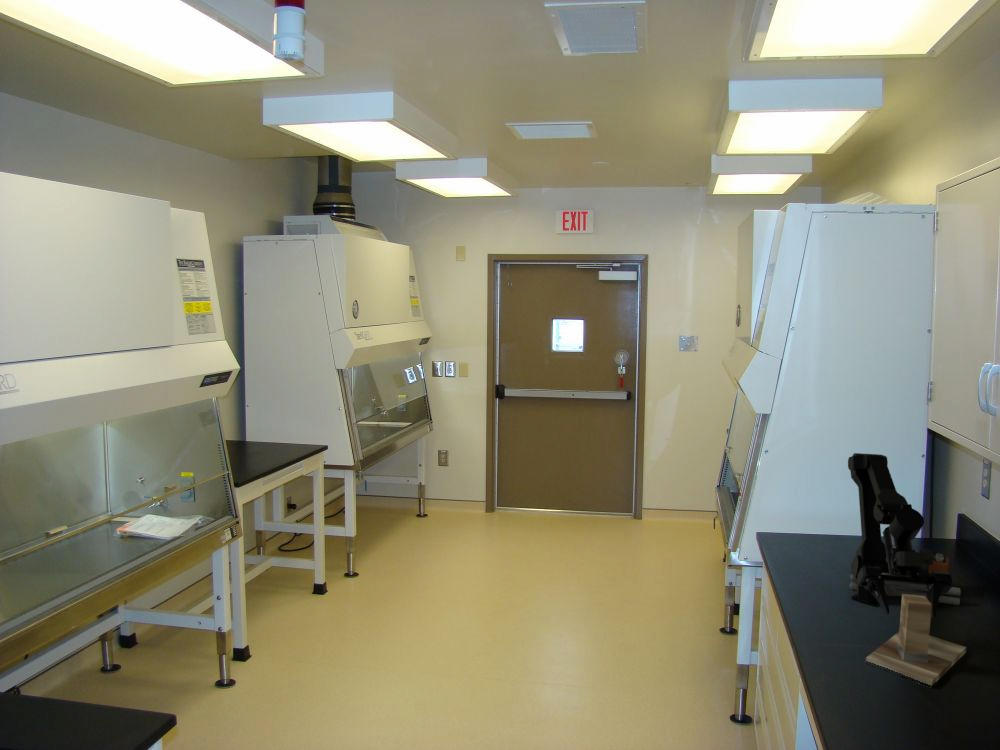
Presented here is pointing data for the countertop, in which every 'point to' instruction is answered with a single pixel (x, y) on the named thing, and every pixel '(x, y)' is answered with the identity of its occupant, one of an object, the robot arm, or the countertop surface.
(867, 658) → the subfloor panel
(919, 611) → the tall wooden post
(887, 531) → the robot arm
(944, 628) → the countertop surface
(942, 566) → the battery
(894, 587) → the metal rod assembly
